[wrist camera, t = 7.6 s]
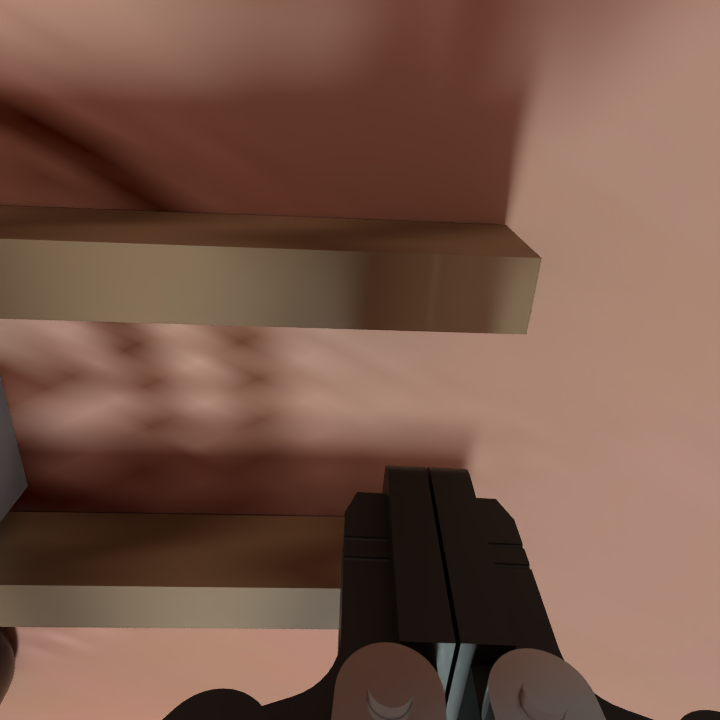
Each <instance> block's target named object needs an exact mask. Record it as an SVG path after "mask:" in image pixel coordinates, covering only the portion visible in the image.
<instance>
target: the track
mask: <svg viewBox="0 0 720 720" xmlns="http://www.w3.org/2000/svg"><path fill="white" fill-rule="evenodd" d="M540 263H541V257H540V256H539V255H538V254H536V253H535V252H534V251H533V250H532V249H531V248H530V247H529V246H528V245H527V244H526V243H525V242H524V241H522V240H521V239H520V238H519V237H518V236H517V235H516V234H515V233H514V232H513V231H512V230H511V229H510V228H508V227H507V226H506V225H499V224H473V223H447V222H421V221H395V220H369V219H343V218H317V217H291V216H265V215H239V214H213V213H187V212H161V211H135V210H109V209H83V208H57V207H30V206H4V205H0V319H34V320H67V321H100V322H133V323H166V324H200V325H233V326H266V327H299V328H332V329H366V330H399V331H432V332H465V333H498V334H527V329H528V324H529V319H530V314H531V309H532V304H533V298H534V293H535V288H536V283H537V278H538V273H539V268H540ZM344 521H345V517H321V516H259V515H196V514H134V513H72V512H9V511H8V513H7V514H6V515H5V517H4V518H3V519H2V521H1V522H0V627H107V628H238V629H339V610H340V584H341V564H342V550H343V535H344Z"/></svg>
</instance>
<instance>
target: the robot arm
mask: <svg viewBox="0 0 720 720" xmlns="http://www.w3.org/2000/svg"><path fill="white" fill-rule="evenodd" d="M522 545H523V544H522V541H521V538H520V535H519V532H518V529H517V527H516V524H515V521H514V519H513V518H512V517H511V516H510V515H509V513H508V512H507V511H506V510H505V509H504V508H503V507H502V505H501V504H500V503H499V502H498V501H497V500H496V499H486V498H476V496H475V492H474V489H473V485H472V481H471V478H470V474H469V472H468V470H466V469H450V468H431V467H428V468H427V469H426V468H425V467H408V466H389V465H386V468H385V474H384V483H383V492H382V493H363V492H357V494H356V495H355V497H354V498H353V500H352V502H351V503H350V505H349V506H348V508H347V510H346V511H345V521H344V535H343V550H342V564H341V584H340V610H339V636H338V656H337V658H336V660H335V662H334V664H333V666H332V668H331V669H330V671H329V672H328V673H327V674H326V676H325V677H324V678H323V679H322V680H321V681H320V682H318V683H317V684H316V685H315V686H313V687H312V688H310V689H308V690H307V691H305V692H303V693H300V694H298V695H295V696H293V697H290V698H286V699H283V700H280V701H277V702H273V703H270V704H267V705H264V706H261V705H260V704H259V702H258V701H256V700H255V699H254V698H252V697H251V696H249V695H247V694H245V693H243V692H241V691H237V690H233V689H213V690H208V691H204V692H201V693H199V694H197V695H194V696H192V697H190V698H189V699H187V700H185V701H184V702H182V703H181V704H180V705H179V706H177V707H176V708H175V709H174V710H173V711H171V712H170V713H169V714H168V715H167V716H166V717H165V718H164V719H163V720H653V719H650V718H647V717H644V716H641V715H639V714H636V713H633V712H630V711H628V710H625V709H622V708H620V707H617V706H615V705H613V704H611V703H609V702H607V701H605V700H604V699H602V698H600V697H599V696H598V695H596V694H595V693H594V692H593V691H592V689H591V687H590V686H589V684H588V683H587V681H586V680H585V679H584V678H583V677H582V675H581V674H580V673H579V672H578V671H577V670H576V669H574V668H573V667H572V666H571V665H570V664H568V663H567V662H565V661H564V659H563V657H562V655H561V653H560V650H559V648H558V645H557V642H556V639H555V636H554V633H553V630H552V628H551V625H550V622H549V619H548V616H547V613H546V610H545V607H544V604H543V602H542V599H541V596H540V593H539V590H538V587H537V584H536V581H535V579H534V576H533V573H532V570H530V568H529V565H530V564H529V561H528V558H527V555H526V553H525V550H524V549H523V548H522ZM681 720H720V712H717V711H711V710H698V711H694V712H691V713H689V714H687V715H685V716H684V717H683V718H682V719H681Z"/></svg>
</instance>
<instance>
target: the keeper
mask: <svg viewBox="0 0 720 720" xmlns="http://www.w3.org/2000/svg"><path fill="white" fill-rule="evenodd" d="M27 487H28V484H27V480H26V476H25V472H24V468H23V464H22V460H21V456H20V452H19V448H18V444H17V440H16V436H15V432H14V428H13V424H12V420H11V416H10V412H9V408H8V404H7V400H6V396H5V392H4V388H3V384H2V380H1V376H0V522H1V521H2V519H3V518H4V517H5V515H6V514H7V513H8V511H9V510H10V509H11V508H12V506H13V505H14V504H15V502H16V501H17V500H18V498H19V497H20V496H21V495H22V493H23V492H24V491H25V489H26V488H27Z"/></svg>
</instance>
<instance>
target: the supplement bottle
mask: <svg viewBox="0 0 720 720" xmlns="http://www.w3.org/2000/svg"><path fill="white" fill-rule="evenodd" d="M14 669H15V658H14V652H13V648H12V645H11V642H10V640H9V638H8V636H7V634H6V633H5V631H4V630H3V628H2V627H0V704H1V703H2V701H3V699H4V697H5V695H6V693H7V691H8V689H9V687H10V684H11V682H12V679H13V675H14Z"/></svg>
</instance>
